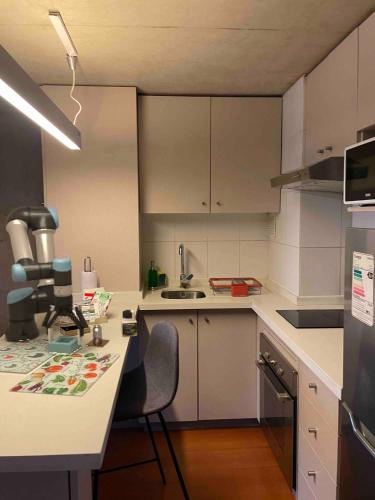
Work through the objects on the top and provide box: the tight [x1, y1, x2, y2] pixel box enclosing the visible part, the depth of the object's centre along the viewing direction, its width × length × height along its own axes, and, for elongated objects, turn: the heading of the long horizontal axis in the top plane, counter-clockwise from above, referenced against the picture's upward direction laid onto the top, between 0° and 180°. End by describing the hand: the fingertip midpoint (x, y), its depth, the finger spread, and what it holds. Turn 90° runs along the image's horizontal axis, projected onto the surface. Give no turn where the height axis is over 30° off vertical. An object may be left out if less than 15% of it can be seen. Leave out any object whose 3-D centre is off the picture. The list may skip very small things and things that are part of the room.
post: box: [85, 324, 110, 348], centre depth 169 cm, size 8×8×9 cm
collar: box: [48, 335, 82, 354], centre depth 161 cm, size 10×10×5 cm
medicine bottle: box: [120, 309, 138, 338], centre depth 182 cm, size 7×7×12 cm
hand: (65, 343), depth 160 cm, fingers open, 13 cm apart
